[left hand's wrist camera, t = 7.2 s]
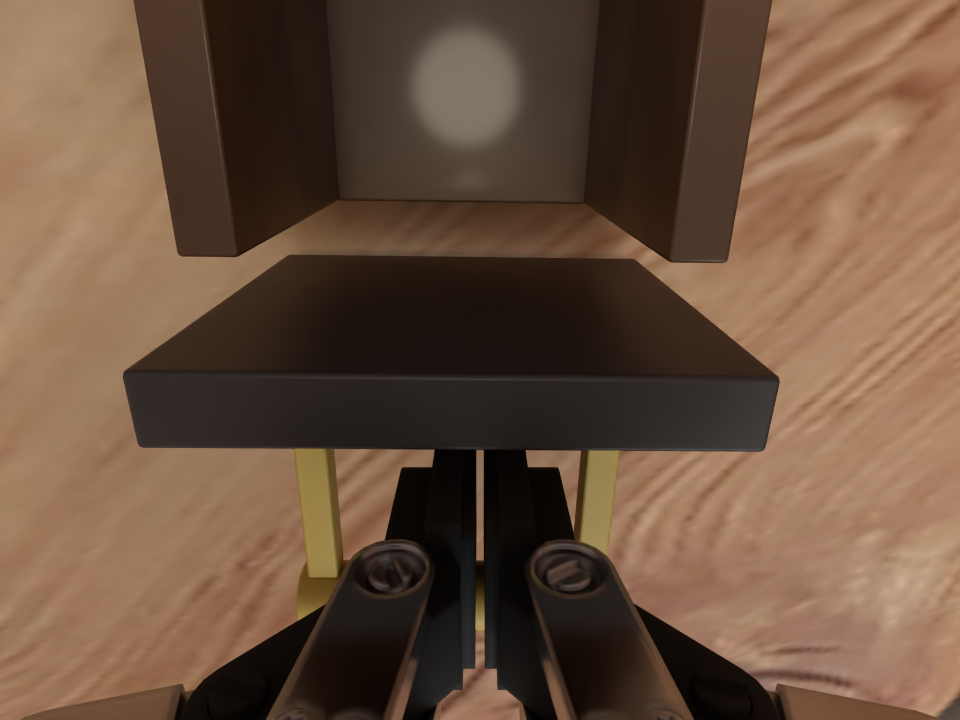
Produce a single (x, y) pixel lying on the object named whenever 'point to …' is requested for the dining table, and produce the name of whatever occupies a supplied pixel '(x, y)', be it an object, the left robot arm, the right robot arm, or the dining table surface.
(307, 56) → the drawer
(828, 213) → the dining table surface
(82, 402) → the dining table surface
